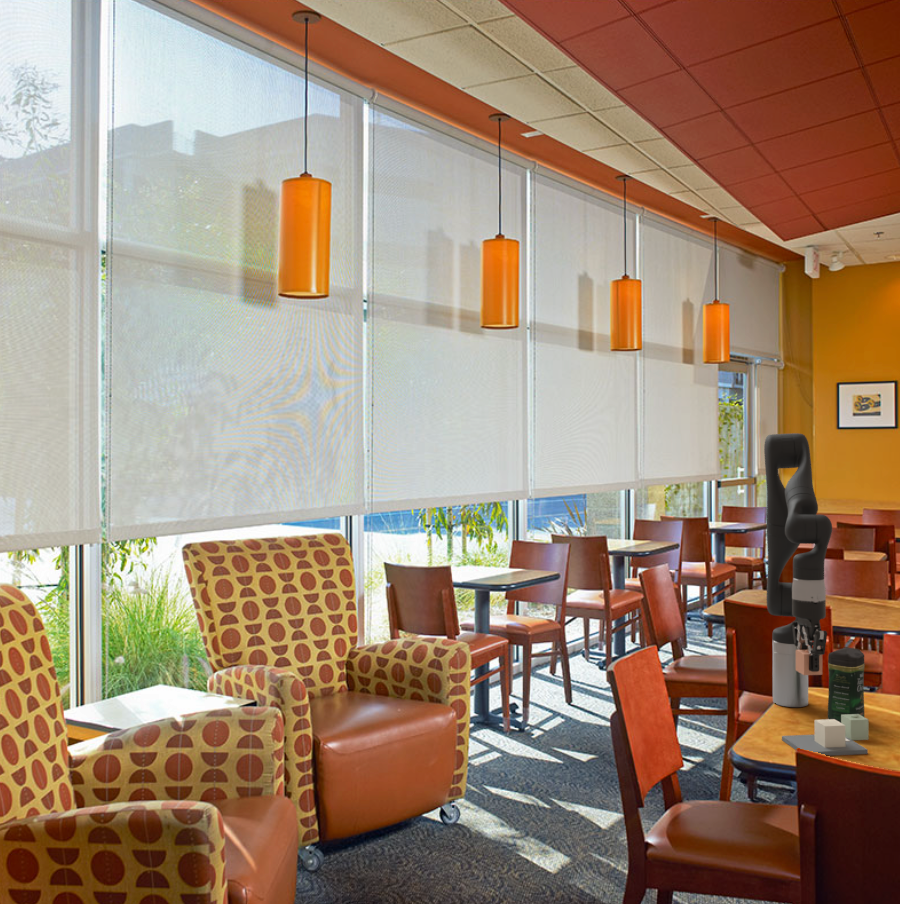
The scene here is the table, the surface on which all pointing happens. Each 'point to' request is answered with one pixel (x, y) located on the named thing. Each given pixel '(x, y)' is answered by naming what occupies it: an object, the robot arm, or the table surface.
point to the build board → (818, 748)
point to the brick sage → (855, 726)
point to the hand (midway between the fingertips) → (809, 668)
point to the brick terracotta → (806, 663)
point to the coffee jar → (846, 683)
